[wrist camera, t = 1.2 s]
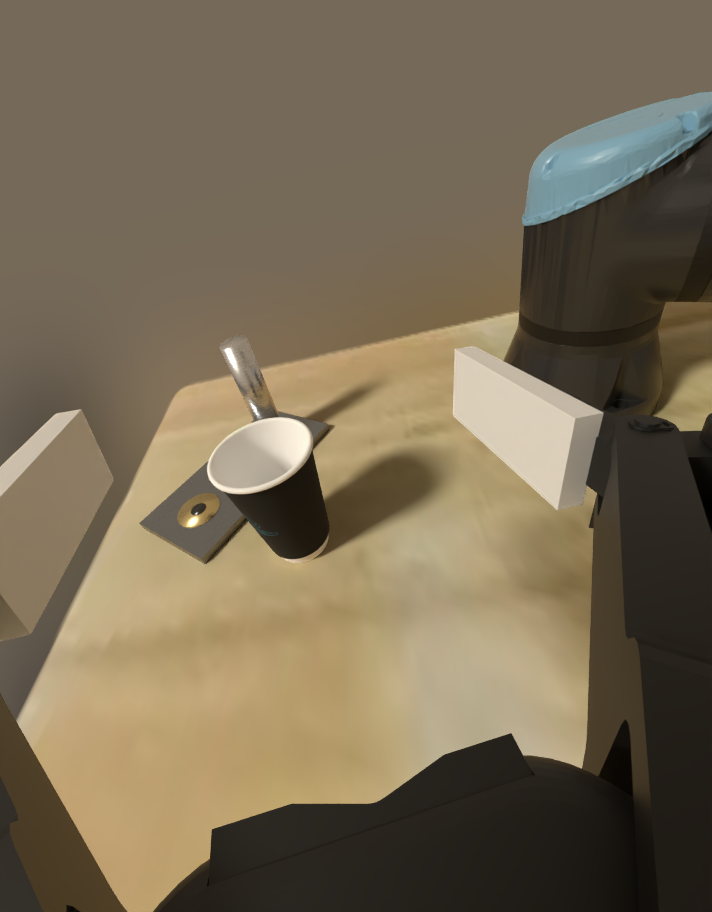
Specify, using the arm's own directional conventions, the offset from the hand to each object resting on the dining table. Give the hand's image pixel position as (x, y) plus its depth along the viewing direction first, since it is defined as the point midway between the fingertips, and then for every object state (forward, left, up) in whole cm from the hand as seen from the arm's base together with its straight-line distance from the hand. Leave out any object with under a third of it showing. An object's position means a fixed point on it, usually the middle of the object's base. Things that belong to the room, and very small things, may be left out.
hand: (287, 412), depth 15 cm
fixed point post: (-15, -23, -21) cm, 34 cm away
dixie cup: (-5, -11, -21) cm, 24 cm away
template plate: (-9, -23, -21) cm, 32 cm away
